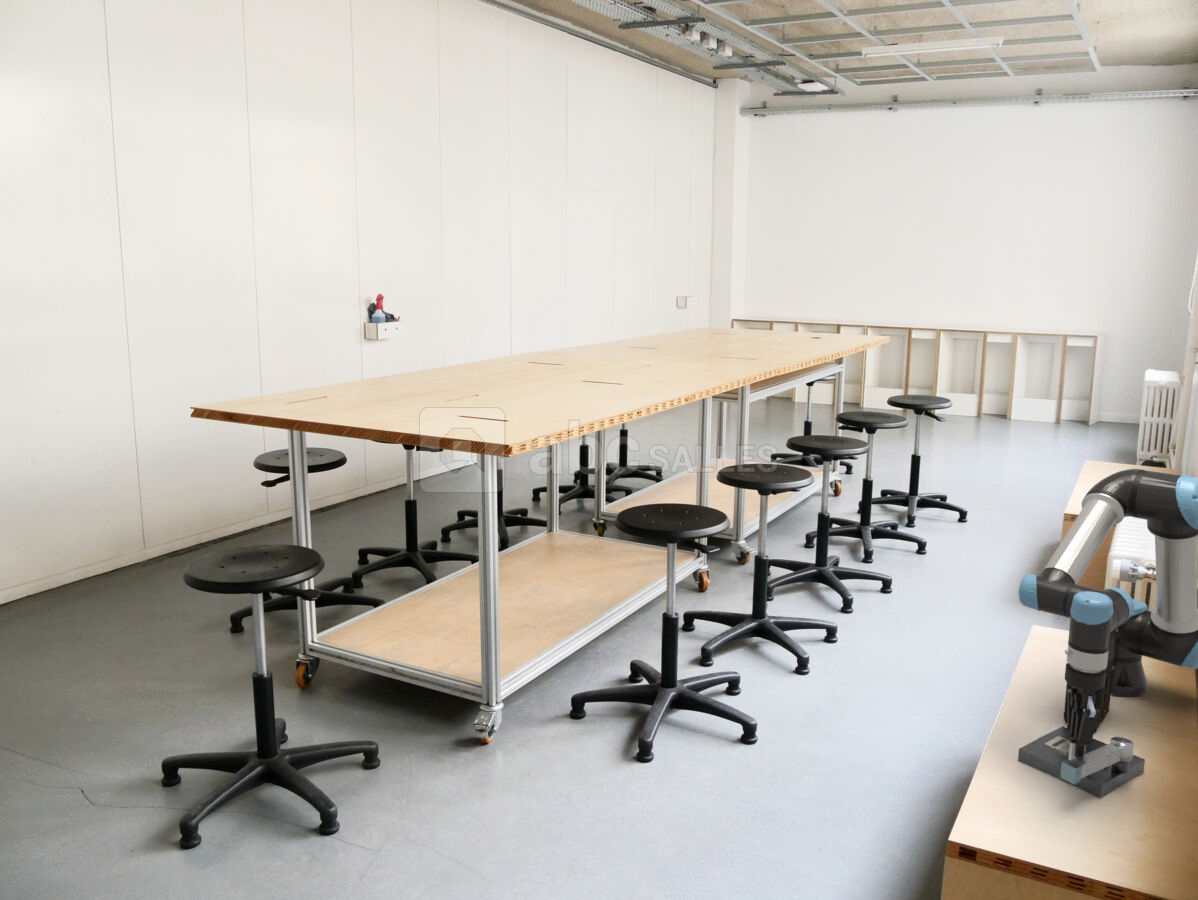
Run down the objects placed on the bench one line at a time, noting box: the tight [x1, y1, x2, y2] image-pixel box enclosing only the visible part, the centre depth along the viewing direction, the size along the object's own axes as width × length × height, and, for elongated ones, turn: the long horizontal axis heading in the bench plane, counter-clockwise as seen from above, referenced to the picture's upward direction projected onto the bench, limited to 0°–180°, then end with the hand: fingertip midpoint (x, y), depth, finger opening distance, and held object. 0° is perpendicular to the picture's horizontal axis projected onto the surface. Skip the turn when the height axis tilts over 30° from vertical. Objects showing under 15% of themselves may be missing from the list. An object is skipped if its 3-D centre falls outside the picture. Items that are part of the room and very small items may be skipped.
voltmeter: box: [1062, 628, 1118, 733], centre depth 233 cm, size 16×9×25 cm, turn 141°
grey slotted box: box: [1017, 725, 1146, 799], centre depth 214 cm, size 18×20×6 cm
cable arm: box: [1060, 736, 1135, 785], centre depth 202 cm, size 4×21×4 cm, turn 120°
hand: (1075, 768), depth 204 cm, fingers closed
